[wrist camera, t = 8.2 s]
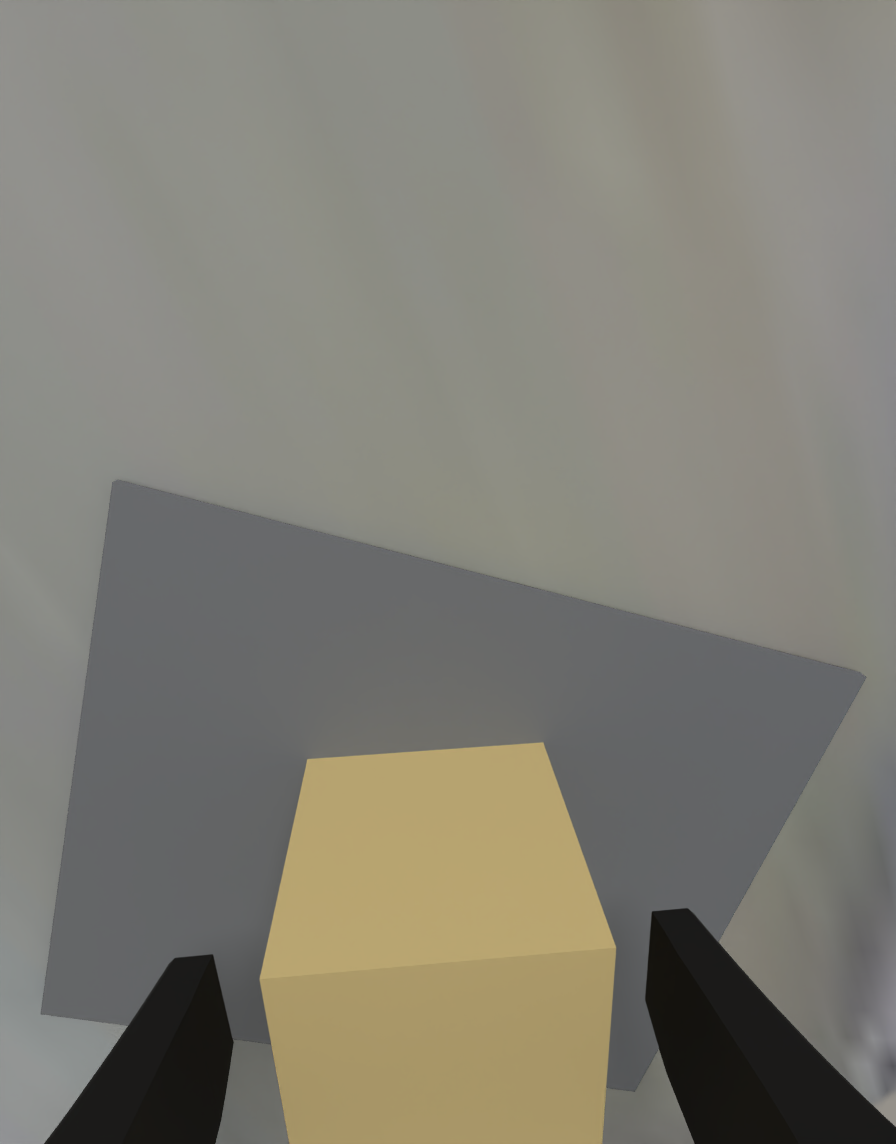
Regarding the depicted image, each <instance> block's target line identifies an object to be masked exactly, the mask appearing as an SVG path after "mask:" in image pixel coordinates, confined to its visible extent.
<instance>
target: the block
mask: <svg viewBox="0 0 896 1144" xmlns="http://www.w3.org/2000/svg"><path fill="white" fill-rule="evenodd" d="M615 958H616V945H615V943H614V940H613V937H612V934H611V931H610V929H609V926H608V923H607V920H606V917H605V915H604V912H603V909H602V906H601V903H600V901H599V898H598V895H597V892H596V889H595V887H594V884H593V881H592V878H591V875H590V872H589V870H588V867H587V864H586V861H585V858H584V856H583V853H582V850H581V847H580V844H579V842H578V839H577V836H576V833H575V830H574V828H573V825H572V822H571V819H570V816H569V813H568V811H567V808H566V805H565V802H564V799H563V797H562V794H561V791H560V788H559V785H558V783H557V780H556V777H555V774H554V771H553V769H552V766H551V763H550V760H549V757H548V755H547V752H546V749H545V746H544V743H543V742H542V743H528V744H513V745H499V746H485V747H471V748H457V749H443V750H429V751H415V752H401V753H387V754H373V755H359V756H345V757H330V758H316V759H307V763H306V768H305V772H304V777H303V781H302V786H301V791H300V795H299V800H298V805H297V809H296V814H295V818H294V823H293V828H292V832H291V837H290V841H289V846H288V851H287V855H286V860H285V864H284V869H283V874H282V878H281V883H280V887H279V892H278V897H277V901H276V906H275V910H274V915H273V920H272V924H271V929H270V933H269V938H268V943H267V947H266V952H265V956H264V961H263V966H262V970H261V975H260V985H261V990H262V996H263V1001H264V1007H265V1012H266V1018H267V1023H268V1029H269V1034H270V1040H271V1045H272V1051H273V1056H274V1062H275V1067H276V1073H277V1078H278V1084H279V1089H280V1095H281V1100H282V1106H283V1111H284V1117H285V1122H286V1128H287V1133H288V1139H289V1144H602V1138H603V1124H604V1110H605V1096H606V1082H607V1069H608V1055H609V1041H610V1027H611V1013H612V999H613V985H614V972H615Z"/></svg>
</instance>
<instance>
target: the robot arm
mask: <svg viewBox="0 0 896 1144" xmlns="http://www.w3.org/2000/svg"><path fill="white" fill-rule="evenodd" d="M645 1002H646V1005H647V1009H648V1012H649V1016H650V1019H651V1023H652V1026H653V1029H654V1033H655V1036H656V1040H657V1043H658V1046H659V1050H660V1053H661V1056H662V1060H663V1063H664V1066H665V1069H666V1072H667V1075H668V1078H669V1080H670V1083H671V1085H672V1088H673V1090H674V1093H675V1095H676V1098H677V1100H678V1103H679V1105H680V1108H681V1110H682V1113H683V1115H684V1118H685V1121H686V1123H687V1126H688V1128H689V1131H690V1133H691V1136H692V1138H693V1140H694V1143H695V1144H896V1127H895V1126H894V1125H893V1124H892V1123H891V1122H890V1121H888V1120H887V1119H886V1118H885V1117H884V1116H883V1115H882V1114H881V1113H880V1112H879V1111H878V1110H877V1109H876V1108H875V1107H874V1106H873V1105H872V1104H871V1103H870V1102H869V1101H867V1100H866V1099H865V1098H864V1097H863V1096H862V1095H861V1094H860V1093H859V1092H858V1091H857V1090H856V1089H855V1088H854V1087H853V1086H852V1085H851V1084H850V1083H849V1082H848V1081H847V1080H846V1079H845V1078H844V1077H843V1076H842V1075H841V1074H840V1073H839V1072H838V1071H837V1070H836V1069H835V1068H834V1067H833V1066H832V1065H831V1064H830V1063H829V1062H828V1061H827V1060H826V1059H825V1058H824V1057H823V1056H822V1055H821V1054H820V1053H819V1052H818V1051H817V1050H816V1049H815V1048H814V1047H813V1046H812V1045H811V1044H810V1043H809V1042H808V1041H807V1040H806V1038H805V1037H804V1036H803V1035H802V1034H801V1033H800V1032H799V1031H798V1030H797V1029H796V1028H795V1027H794V1026H793V1025H792V1024H791V1023H790V1022H789V1020H788V1019H787V1018H786V1017H785V1016H784V1015H783V1014H782V1013H781V1012H780V1011H779V1010H778V1009H777V1008H776V1007H775V1006H774V1005H773V1003H772V1002H771V1001H770V1000H769V999H768V998H767V997H766V996H765V995H764V994H763V992H762V991H761V990H760V989H759V988H758V987H757V986H756V985H755V984H754V983H753V981H752V980H751V979H750V978H749V977H748V976H747V975H746V973H745V972H744V971H743V970H742V969H741V968H740V967H739V966H738V964H737V963H736V962H735V961H734V960H733V959H732V958H731V956H730V955H729V954H728V953H727V952H726V951H725V950H724V948H723V947H722V946H721V945H720V944H719V943H718V941H717V940H716V939H715V938H714V937H713V935H712V934H711V933H710V932H709V931H708V930H707V928H706V927H705V926H704V925H703V924H702V923H701V921H700V920H699V919H698V918H697V917H696V915H695V914H694V913H693V912H692V911H691V910H689V909H688V908H682V909H672V910H661V911H652V914H651V927H650V940H649V954H648V967H647V980H646V993H645ZM232 1049H233V1038H232V1034H231V1030H230V1025H229V1021H228V1017H227V1012H226V1008H225V1004H224V999H223V995H222V991H221V986H220V982H219V978H218V973H217V969H216V965H215V960H214V956H213V954H209V955H199V956H188V957H178V958H174V959H173V960H172V961H171V962H170V963H169V964H168V966H167V968H166V969H165V971H164V972H163V974H162V975H161V977H160V978H159V980H158V981H157V983H156V984H155V986H154V988H153V989H152V991H151V992H150V994H149V995H148V997H147V998H146V1000H145V1001H144V1003H143V1004H142V1006H141V1007H140V1009H139V1010H138V1012H137V1013H136V1015H135V1016H134V1018H133V1019H132V1021H131V1022H130V1024H129V1025H128V1027H127V1028H126V1030H125V1031H124V1033H123V1034H122V1036H121V1037H120V1039H119V1040H118V1042H117V1043H116V1045H115V1046H114V1047H113V1049H112V1050H111V1052H110V1053H109V1055H108V1056H107V1058H106V1059H105V1061H104V1062H103V1063H102V1065H101V1066H100V1068H99V1069H98V1070H97V1072H96V1073H95V1075H94V1076H93V1077H92V1079H91V1080H90V1082H89V1083H88V1084H87V1086H86V1087H85V1089H84V1090H83V1092H82V1093H81V1094H80V1096H79V1097H78V1099H77V1100H76V1101H75V1103H74V1104H73V1106H72V1107H71V1108H70V1110H69V1111H68V1113H67V1114H66V1115H65V1117H64V1118H63V1119H62V1121H61V1122H60V1124H59V1125H58V1126H57V1128H56V1129H55V1130H54V1131H53V1133H52V1134H51V1135H50V1137H49V1138H48V1139H47V1141H46V1142H45V1143H44V1144H215V1142H216V1138H217V1134H218V1130H219V1126H220V1122H221V1117H222V1111H223V1105H224V1100H225V1094H226V1088H227V1082H228V1075H229V1069H230V1062H231V1056H232Z"/></svg>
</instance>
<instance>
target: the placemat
mask: <svg viewBox="0 0 896 1144" xmlns="http://www.w3.org/2000/svg"><path fill="white" fill-rule="evenodd" d="M865 679H866V676H864V675H863V674H861V673H860V672H857V671H853V670H849V669H845V668H842V667H838V666H834V665H830V664H826V663H822V662H818V661H815V660H811V659H807V658H803V657H799V656H795V655H791V654H788V653H784V652H780V651H776V650H772V649H768V648H764V647H761V646H757V645H753V644H749V643H745V642H741V641H737V640H734V639H730V638H726V637H722V636H718V635H714V634H710V633H707V632H703V631H699V630H695V629H691V628H687V627H683V626H680V625H676V624H672V623H668V622H664V621H660V620H656V619H653V618H649V617H645V616H641V615H637V614H633V613H629V612H626V611H622V610H618V609H614V608H610V607H606V606H602V605H599V604H595V603H591V602H587V601H583V600H579V599H575V598H572V597H568V596H564V595H560V594H556V593H552V592H548V591H545V590H541V589H537V588H533V587H529V586H525V585H521V584H518V583H514V582H510V581H506V580H502V579H498V578H495V577H491V576H487V575H483V574H479V573H475V572H471V571H468V570H464V569H460V568H456V567H452V566H448V565H444V564H441V563H437V562H433V561H429V560H425V559H421V558H417V557H414V556H410V555H406V554H402V553H398V552H394V551H390V550H387V549H383V548H379V547H375V546H371V545H367V544H363V543H360V542H356V541H352V540H348V539H344V538H340V537H336V536H333V535H329V534H325V533H321V532H317V531H313V530H309V529H306V528H302V527H298V526H294V525H290V524H286V523H282V522H279V521H275V520H271V519H267V518H263V517H259V516H255V515H252V514H248V513H244V512H240V511H236V510H232V509H228V508H225V507H221V506H217V505H213V504H209V503H205V502H201V501H198V500H194V499H190V498H186V497H182V496H178V495H174V494H171V493H167V492H163V491H159V490H155V489H151V488H147V487H144V486H140V485H136V484H132V483H128V482H124V481H120V480H116V481H114V482H112V490H111V497H110V504H109V512H108V519H107V527H106V534H105V541H104V549H103V556H102V564H101V571H100V578H99V586H98V593H97V601H96V608H95V616H94V623H93V630H92V638H91V645H90V653H89V660H88V667H87V675H86V682H85V690H84V697H83V704H82V712H81V719H80V727H79V734H78V741H77V749H76V756H75V764H74V771H73V778H72V786H71V793H70V801H69V808H68V815H67V823H66V830H65V838H64V845H63V852H62V860H61V867H60V875H59V882H58V889H57V897H56V904H55V912H54V919H53V926H52V934H51V941H50V949H49V956H48V963H47V971H46V978H45V986H44V993H43V1000H42V1008H41V1014H43V1015H51V1016H59V1017H66V1018H74V1019H82V1020H89V1021H97V1022H105V1023H113V1024H120V1025H129V1024H130V1022H131V1021H132V1019H133V1018H134V1016H135V1015H136V1013H137V1012H138V1010H139V1009H140V1007H141V1006H142V1004H143V1003H144V1001H145V1000H146V998H147V997H148V995H149V994H150V992H151V991H152V989H153V988H154V986H155V984H156V983H157V981H158V980H159V978H160V977H161V975H162V974H163V972H164V971H165V969H166V968H167V966H168V964H169V963H170V962H171V961H172V960H173V959H174V958H178V957H188V956H199V955H209V954H213V956H214V960H215V965H216V969H217V973H218V978H219V982H220V986H221V991H222V995H223V999H224V1004H225V1008H226V1012H227V1017H228V1021H229V1025H230V1030H231V1034H232V1038H233V1039H235V1040H243V1041H251V1042H258V1043H266V1044H271V1040H270V1034H269V1029H268V1023H267V1018H266V1012H265V1007H264V1001H263V996H262V990H261V985H260V975H261V970H262V966H263V961H264V956H265V952H266V947H267V943H268V938H269V933H270V929H271V924H272V920H273V915H274V910H275V906H276V901H277V897H278V892H279V887H280V883H281V878H282V874H283V869H284V864H285V860H286V855H287V851H288V846H289V841H290V837H291V832H292V828H293V823H294V818H295V814H296V809H297V805H298V800H299V795H300V791H301V786H302V781H303V777H304V772H305V768H306V763H307V759H316V758H330V757H345V756H359V755H373V754H387V753H401V752H415V751H429V750H443V749H457V748H471V747H485V746H499V745H513V744H528V743H542V742H543V743H544V746H545V749H546V752H547V755H548V757H549V760H550V763H551V766H552V769H553V771H554V774H555V777H556V780H557V783H558V785H559V788H560V791H561V794H562V797H563V799H564V802H565V805H566V808H567V811H568V813H569V816H570V819H571V822H572V825H573V828H574V830H575V833H576V836H577V839H578V842H579V844H580V847H581V850H582V853H583V856H584V858H585V861H586V864H587V867H588V870H589V872H590V875H591V878H592V881H593V884H594V887H595V889H596V892H597V895H598V898H599V901H600V903H601V906H602V909H603V912H604V915H605V917H606V920H607V923H608V926H609V929H610V931H611V934H612V937H613V940H614V943H615V945H616V958H615V972H614V985H613V999H612V1013H611V1027H610V1041H609V1055H608V1069H607V1082H606V1088H611V1089H619V1090H626V1091H634V1092H635V1090H636V1088H637V1086H638V1085H639V1083H640V1081H641V1079H642V1078H643V1076H644V1074H645V1072H646V1070H647V1069H648V1067H649V1065H650V1063H651V1061H652V1060H653V1058H654V1056H655V1054H656V1053H657V1051H658V1049H659V1046H658V1043H657V1040H656V1036H655V1033H654V1029H653V1026H652V1023H651V1019H650V1016H649V1012H648V1009H647V1005H646V1002H645V993H646V980H647V967H648V954H649V940H650V927H651V914H652V911H661V910H672V909H682V908H688V909H689V910H691V911H692V912H693V913H694V914H695V915H696V917H697V918H698V919H699V920H700V921H701V923H702V924H703V925H704V926H705V927H706V928H707V930H708V931H709V932H710V933H711V934H712V935H713V937H714V938H715V939H716V940H717V941H718V942H719V940H720V938H721V936H722V935H723V933H724V931H725V929H726V927H727V926H728V924H729V922H730V920H731V919H732V917H733V915H734V913H735V911H736V910H737V908H738V906H739V904H740V902H741V901H742V899H743V897H744V895H745V894H746V892H747V890H748V888H749V886H750V885H751V883H752V881H753V879H754V877H755V876H756V874H757V872H758V870H759V869H760V867H761V865H762V863H763V861H764V860H765V858H766V856H767V854H768V852H769V851H770V849H771V847H772V845H773V843H774V842H775V840H776V838H777V836H778V835H779V833H780V831H781V829H782V827H783V826H784V824H785V822H786V820H787V818H788V817H789V815H790V813H791V811H792V810H793V808H794V806H795V804H796V802H797V801H798V799H799V797H800V795H801V793H802V792H803V790H804V788H805V786H806V785H807V783H808V781H809V779H810V777H811V776H812V774H813V772H814V770H815V768H816V767H817V765H818V763H819V761H820V760H821V758H822V756H823V754H824V752H825V751H826V749H827V747H828V745H829V743H830V742H831V740H832V738H833V736H834V734H835V733H836V731H837V729H838V727H839V726H840V724H841V722H842V720H843V718H844V717H845V715H846V713H847V711H848V709H849V708H850V706H851V704H852V702H853V701H854V699H855V697H856V695H857V693H858V692H859V690H860V688H861V686H862V684H863V683H864V681H865Z"/></svg>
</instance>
